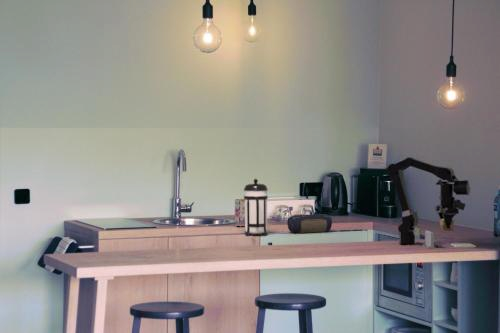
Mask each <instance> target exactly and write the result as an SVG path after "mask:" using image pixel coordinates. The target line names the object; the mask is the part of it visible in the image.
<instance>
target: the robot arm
mask: <svg viewBox="0 0 500 333" xmlns="http://www.w3.org/2000/svg"><path fill="white" fill-rule="evenodd" d="M410 167H412V168H415V169H418V170H421V171H423V172H428V173H430V174H432V175H434V176H436V178H439V180H438V181H437V182H436V183H435V186H436V185H437V186H439V185H440V190H439V191H440V193H439V194H440V195H439V197H438V199H439V200H440V201H439V202H440V204H437V205H436V206H435V208H434V209H435V211H436V212H437V214H438V217H439V220H440V219H444V221H445V224H446V227H447V229H449V228H450V225H451V221H452V220H453V218H454V217H455V216H456V215H459V213H460V212H459V210H461V211H465V207H466V203H464V202H462V201H461V200H460V199H457V198H456V197H455V196H454V193H455V195H457V196H460V195H461V196H469V195H470V194H471V193H470V191H471V187H470V183H469V182H470V181H469V180H467V179H466V180H459V179H458V178H457V176H456V174H455V172H454V169H453V168H451V167H448V166H440V165H439V166H438V165H434V164H431V163H428V162H425V161H423V160H420V159H416V158H415V157H412V156H411V157H406V158H405V159H402V160H401V161H399V162H396V163H390V164H389V165H388V167H387V168H386V172H387V175H388V176H389V178H390V179H391V181H392V182H393V184H394V188H395V191H396V195H397V198H398V201H399V204H400V208H401V211H402V213H401V221H402V223H400V224H401V225H400V226H399V225H398V227H397V229H398V235H399V238H398V239H399V242H398V244H399V245H401V246H403V245H404V246H405V245H407V244H416V239H415V235H414V229H415V227H416V226H418V225H419V220H420V218H419V216H418V211H414V210H413V209H412V206H411V204H410V200H409V196H408V193H407V190H406V186H405V183H404V171H405V170H407V169H408V168H410ZM407 246H408V245H407Z"/></svg>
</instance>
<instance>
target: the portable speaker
mask: <svg viewBox="0 0 500 333" xmlns="http://www.w3.org/2000/svg"><path fill="white" fill-rule="evenodd" d="M332 221H333V220H332V217H331V215H329V214H327V213H326V214H325V213H320V214H295V215H292V216H289V217H288V219H287V223H286V224H287V228H288V231H289V232H290V233H292V234H317V233H327V232H329V231H331V229H332V225H333V222H332Z"/></svg>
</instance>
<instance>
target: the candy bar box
mask: <svg viewBox="0 0 500 333" xmlns="http://www.w3.org/2000/svg"><path fill="white" fill-rule="evenodd" d="M235 222H238V223H242V222H245V199H244V198H235V199H234V223H235Z"/></svg>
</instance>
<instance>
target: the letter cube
mask: <svg viewBox="0 0 500 333" xmlns="http://www.w3.org/2000/svg"><path fill="white" fill-rule="evenodd" d="M454 224H455V223H454V219H452V221H451V225H450V228H449V229H447V227H446V224H445V221H444V219H440V218H439V229H440V230H439V231H441V232H442V231H443V232H450V231H451V232H452V231H454V227H455V225H454Z"/></svg>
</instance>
